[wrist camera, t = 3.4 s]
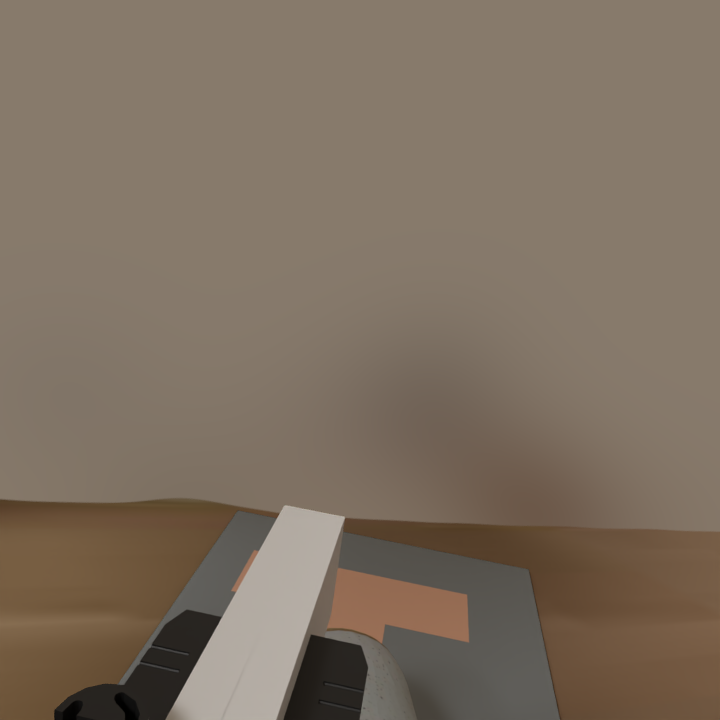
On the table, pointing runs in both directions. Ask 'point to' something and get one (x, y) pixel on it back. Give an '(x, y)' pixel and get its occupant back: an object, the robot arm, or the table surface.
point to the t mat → (412, 620)
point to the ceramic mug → (379, 679)
